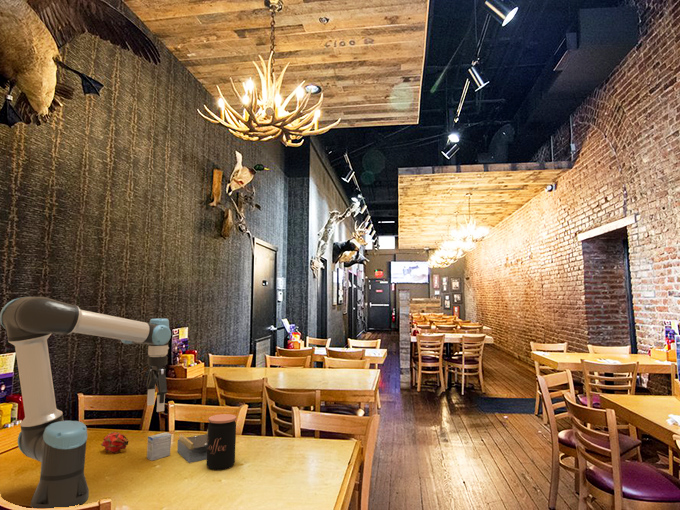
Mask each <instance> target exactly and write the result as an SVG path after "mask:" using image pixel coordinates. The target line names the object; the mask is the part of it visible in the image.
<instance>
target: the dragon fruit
mask: <svg viewBox="0 0 680 510" xmlns="http://www.w3.org/2000/svg"><path fill="white" fill-rule="evenodd" d="M129 442H130V441H129V439H128V438H127V437H126V435H124V434H122V433H120V432H118V431H116V432H115V431H112V432H111V433H108V434H107V435H106V436H104V437H103V441H102V443H101V447H104V451H105V453H108V452H111V453H114V454H120V453H121V451H122V450H125V449H126V448H127V446H128V445H129Z"/></svg>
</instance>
